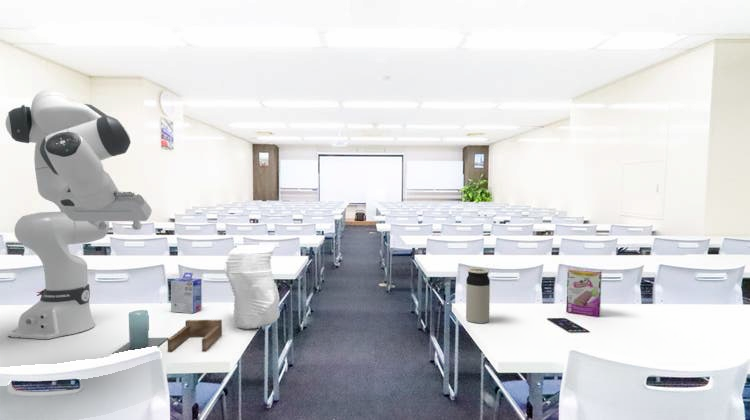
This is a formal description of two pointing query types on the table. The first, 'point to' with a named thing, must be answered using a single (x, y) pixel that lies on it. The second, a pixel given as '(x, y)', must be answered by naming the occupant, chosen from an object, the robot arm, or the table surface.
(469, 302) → the travel mug
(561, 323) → the smartphone
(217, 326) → the holder
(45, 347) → the table surface
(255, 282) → the white crumpled mass
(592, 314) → the candy bar box
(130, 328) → the pale blue domed cylinder
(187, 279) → the ink cartridge box
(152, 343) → the mat
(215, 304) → the table surface
